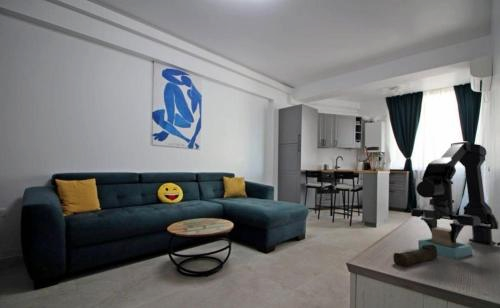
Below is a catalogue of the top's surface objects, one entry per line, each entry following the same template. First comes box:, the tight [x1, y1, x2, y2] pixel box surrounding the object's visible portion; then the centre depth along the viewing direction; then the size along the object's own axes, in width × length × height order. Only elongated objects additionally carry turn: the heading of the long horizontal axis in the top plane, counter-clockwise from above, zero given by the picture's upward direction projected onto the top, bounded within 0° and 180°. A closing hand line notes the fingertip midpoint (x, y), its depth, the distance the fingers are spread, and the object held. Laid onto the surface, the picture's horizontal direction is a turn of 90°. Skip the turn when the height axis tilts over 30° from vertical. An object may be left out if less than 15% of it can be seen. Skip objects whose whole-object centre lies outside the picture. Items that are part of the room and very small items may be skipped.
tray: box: [417, 237, 473, 260], centre depth 81 cm, size 11×11×3 cm
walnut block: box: [431, 226, 457, 246], centre depth 81 cm, size 5×5×5 cm
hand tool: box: [392, 245, 438, 268], centre depth 71 cm, size 19×4×5 cm, turn 111°
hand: (444, 240), depth 81 cm, fingers closed on walnut block, 5 cm apart
